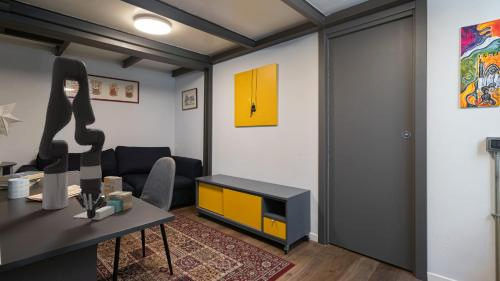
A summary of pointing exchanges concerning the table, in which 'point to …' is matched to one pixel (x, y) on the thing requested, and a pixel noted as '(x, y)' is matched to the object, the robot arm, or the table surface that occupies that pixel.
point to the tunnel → (125, 199)
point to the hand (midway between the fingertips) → (91, 217)
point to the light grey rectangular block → (104, 212)
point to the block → (115, 204)
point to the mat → (81, 215)
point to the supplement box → (112, 185)
